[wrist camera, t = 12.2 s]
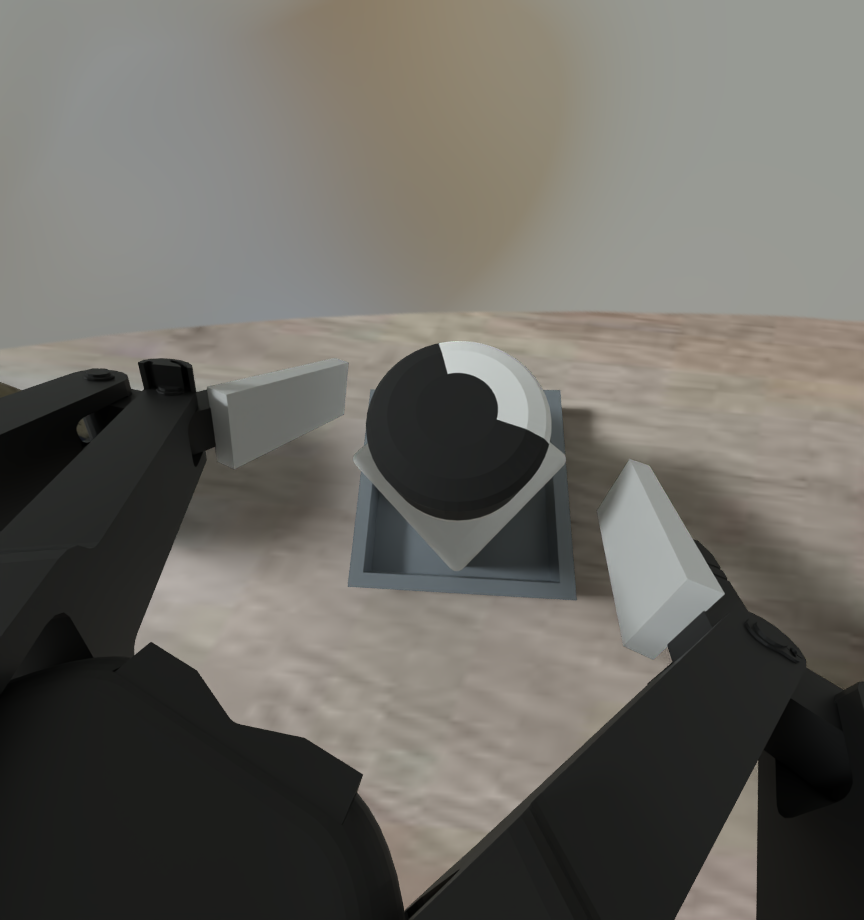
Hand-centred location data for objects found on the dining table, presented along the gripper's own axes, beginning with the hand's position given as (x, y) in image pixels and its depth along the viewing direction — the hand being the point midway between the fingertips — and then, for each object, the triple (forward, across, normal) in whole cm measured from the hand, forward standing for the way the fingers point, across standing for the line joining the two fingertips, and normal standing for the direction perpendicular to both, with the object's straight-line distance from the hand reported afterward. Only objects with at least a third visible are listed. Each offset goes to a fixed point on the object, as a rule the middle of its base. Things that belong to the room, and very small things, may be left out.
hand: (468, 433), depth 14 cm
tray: (+5, 0, -6) cm, 8 cm away
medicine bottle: (+4, 0, -6) cm, 8 cm away
